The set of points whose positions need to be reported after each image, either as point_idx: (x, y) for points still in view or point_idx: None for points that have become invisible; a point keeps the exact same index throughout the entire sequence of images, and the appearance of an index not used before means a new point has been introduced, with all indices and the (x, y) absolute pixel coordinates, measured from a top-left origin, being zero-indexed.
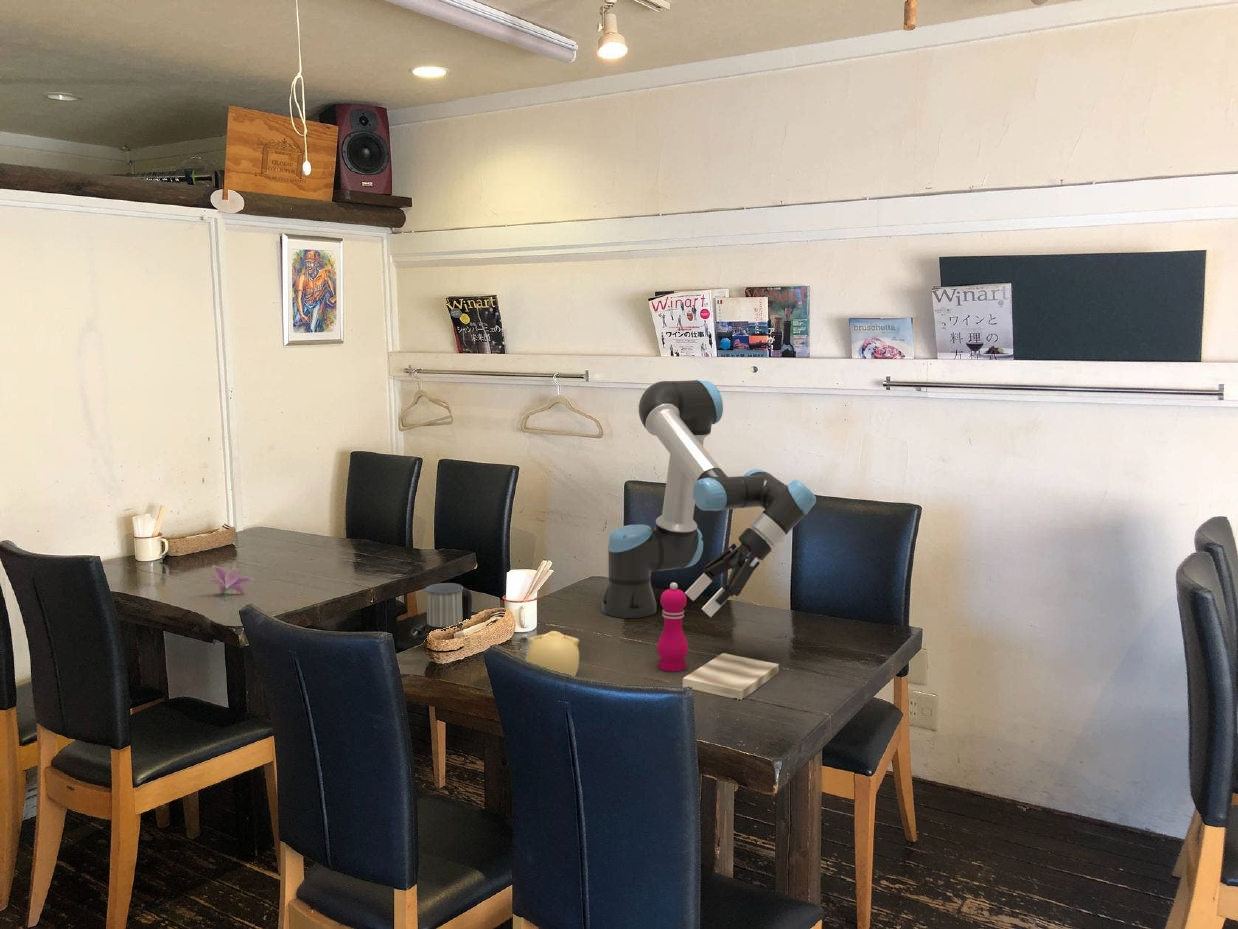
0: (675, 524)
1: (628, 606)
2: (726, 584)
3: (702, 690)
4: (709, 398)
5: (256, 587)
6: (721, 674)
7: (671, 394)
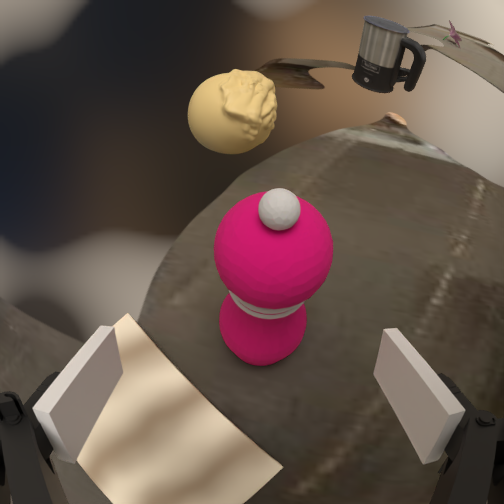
0: None
1: None
2: (23, 435)
3: None
4: None
5: (474, 55)
6: (124, 405)
7: None
